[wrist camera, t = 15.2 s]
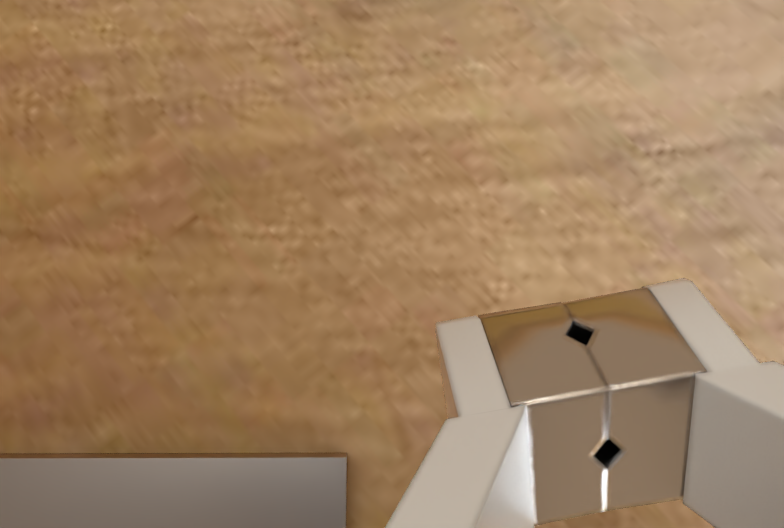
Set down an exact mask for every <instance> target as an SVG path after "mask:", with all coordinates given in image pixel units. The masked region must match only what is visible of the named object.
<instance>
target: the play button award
mask: <svg viewBox="0 0 784 528" xmlns="http://www.w3.org/2000/svg"><path fill="white" fill-rule="evenodd" d="M346 484H347V453H85V454H0V528H346Z"/></svg>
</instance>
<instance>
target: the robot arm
mask: <svg viewBox="0 0 784 528" xmlns="http://www.w3.org/2000/svg"><path fill="white" fill-rule="evenodd" d="M435 332H436V339H437V346H438V354H439V361H440V368H441V376H442V383H443V390H444V397H445V403H446V409H447V415H448V419H446V420H445V422H444V424H443V425H442V427H441V429H440V431H439V432H438V434H437V436H436V438H435V440H434V441H433V443H432V445H431V447H430V448H429V450H428V452H427V454H426V456H425V457H424V459H423V461H422V463H421V464H420V466H419V468H418V470H417V472H416V473H415V475H414V477H413V479H412V480H411V482H410V484H409V486H408V488H407V489H406V491H405V493H404V495H403V496H402V498H401V500H400V502H399V504H398V505H397V507H396V509H395V511H394V512H393V514H392V516H391V518H390V520H389V521H388V523H387V525H386V527H385V528H534V526H537V525H542V524H546V523H551V522H556V521H561V520H565V519H570V518H575V517H580V516H585V515H589V514H594V513H599V512H604V511H610V510H616V509H623V508H629V507H636V506H643V505H649V504H656V503H662V502H669V501H676V500H682V499H683V504H685V505H686V506H687V507H689V508H690V509H691V510H693V511H694V512H695V513H697V514H698V515H699V516H701V517H702V518H703V519H704V520H706V521H707V522H708V523H710V524H711V525H712V526H714V527H715V528H784V365H782V364H779V363H777V362H775V361H770V362H764V363H760V362H759V361H758V360H757V359H756V358H755V356H754V355H753V354H752V353H751V352H750V350H749V349H748V348H747V347H746V346H745V344H744V343H743V342H742V341H741V340H740V338H739V337H738V336H737V335H736V334H735V332H734V331H733V330H732V329H731V328H730V326H729V325H728V324H727V323H726V322H725V320H724V319H723V318H722V317H721V316H720V314H719V313H718V312H717V311H716V310H715V308H714V307H713V306H712V305H711V304H710V302H709V301H708V300H707V299H706V298H705V296H704V295H703V294H702V293H701V292H700V290H699V289H698V288H697V287H696V285H695V284H694V283H693V282H692V281H690V280H688V279H685V278H682V279H677V280H672V281H667V282H662V283H657V284H652V285H647V286H643V287H642V288H640V289H634V290H629V291H623V292H618V293H612V294H607V295H601V296H596V297H590V298H585V299H579V300H574V301H568V302H563V303H561V302H559V303H552V304H546V305H540V306H533V307H527V308H520V309H514V310H507V311H501V312H494V313H488V314H482V315H478V317H477V316H470V317H465V318H459V319H453V320H447V321H441V322H436V329H435Z"/></svg>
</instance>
